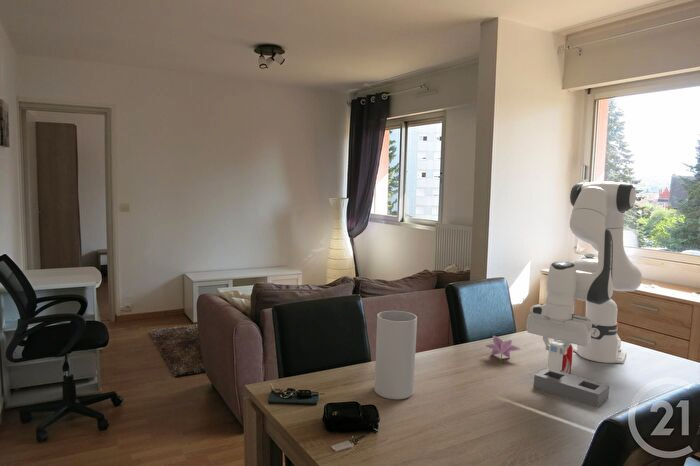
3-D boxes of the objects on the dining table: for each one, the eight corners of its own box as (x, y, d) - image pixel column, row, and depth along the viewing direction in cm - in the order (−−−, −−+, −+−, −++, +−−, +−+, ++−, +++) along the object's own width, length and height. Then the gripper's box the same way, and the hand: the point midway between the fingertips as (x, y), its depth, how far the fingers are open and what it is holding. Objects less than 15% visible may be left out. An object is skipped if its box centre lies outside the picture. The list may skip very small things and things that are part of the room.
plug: (551, 367, 165) (553, 341, 164) (561, 370, 162) (563, 343, 161) (546, 370, 162) (548, 343, 161) (556, 373, 159) (559, 346, 158)
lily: (524, 366, 186) (523, 340, 190) (509, 360, 179) (508, 334, 183) (495, 367, 194) (494, 343, 198) (480, 361, 187) (479, 336, 191)
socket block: (546, 381, 170) (547, 367, 169) (608, 400, 156) (609, 385, 155) (533, 389, 163) (534, 374, 162) (597, 410, 149) (598, 394, 148)
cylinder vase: (416, 387, 161) (420, 313, 158) (408, 403, 149) (412, 323, 146) (380, 381, 165) (383, 309, 162) (369, 396, 153) (372, 318, 150)
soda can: (572, 378, 173) (575, 345, 172) (551, 376, 174) (554, 343, 173) (568, 371, 180) (570, 339, 179) (547, 369, 181) (550, 337, 180)
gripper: (596, 316, 155) (592, 358, 157) (533, 303, 169) (530, 342, 171) (589, 319, 151) (585, 363, 152) (525, 306, 165) (522, 346, 166)
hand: (555, 352), depth 162 cm, fingers closed on plug, 3 cm apart
